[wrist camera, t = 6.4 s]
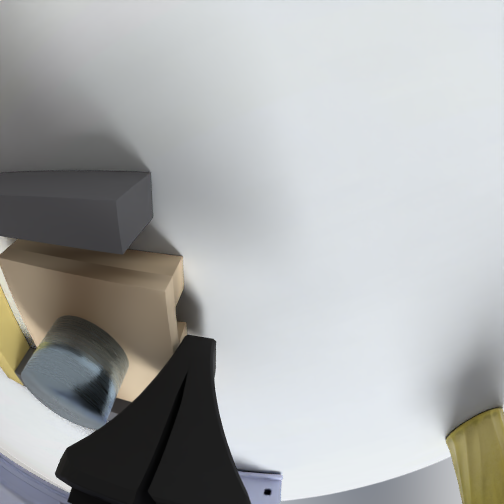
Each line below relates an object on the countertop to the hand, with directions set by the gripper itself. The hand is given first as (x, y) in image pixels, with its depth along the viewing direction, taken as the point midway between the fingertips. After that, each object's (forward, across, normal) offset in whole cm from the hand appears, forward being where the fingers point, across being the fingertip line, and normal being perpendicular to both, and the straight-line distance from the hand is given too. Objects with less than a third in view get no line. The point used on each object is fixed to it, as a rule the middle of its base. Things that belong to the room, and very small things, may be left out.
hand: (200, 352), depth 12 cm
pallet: (+1, +5, 0) cm, 5 cm away
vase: (+1, -23, +11) cm, 26 cm away
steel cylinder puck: (-1, +5, 0) cm, 5 cm away
